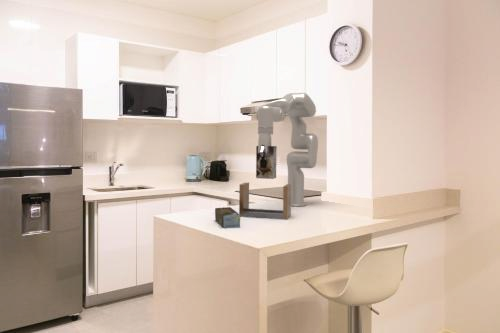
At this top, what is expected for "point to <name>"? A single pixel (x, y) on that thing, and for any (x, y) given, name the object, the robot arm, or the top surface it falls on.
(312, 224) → the top surface
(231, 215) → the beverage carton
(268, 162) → the coffee box
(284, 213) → the wooden book rack
